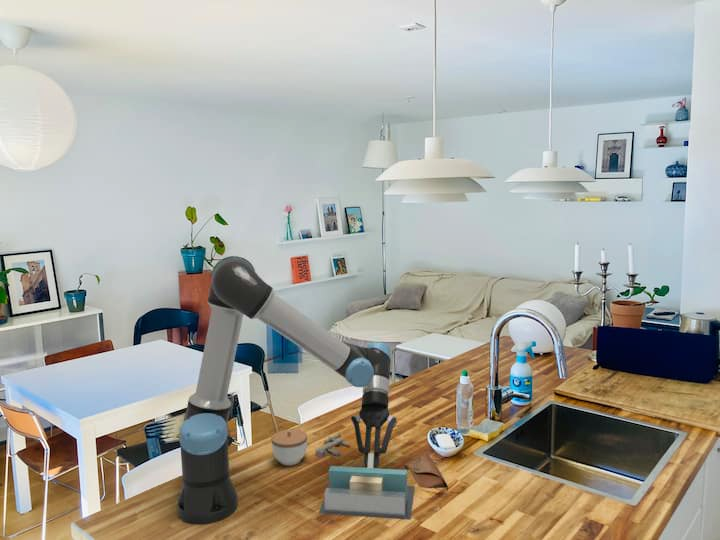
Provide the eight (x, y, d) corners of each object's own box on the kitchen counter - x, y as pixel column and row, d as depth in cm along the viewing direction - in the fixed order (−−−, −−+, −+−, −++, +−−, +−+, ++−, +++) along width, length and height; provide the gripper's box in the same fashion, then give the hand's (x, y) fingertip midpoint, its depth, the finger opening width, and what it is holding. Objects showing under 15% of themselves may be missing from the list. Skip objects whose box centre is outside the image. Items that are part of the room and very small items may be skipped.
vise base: (318, 517, 144) (317, 494, 144) (331, 485, 160) (330, 464, 159) (410, 524, 141) (410, 500, 140) (414, 490, 156) (414, 468, 156)
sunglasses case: (401, 463, 171) (412, 444, 171) (421, 473, 173) (432, 453, 173) (418, 495, 154) (430, 473, 154) (439, 505, 155) (452, 483, 155)
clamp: (329, 455, 174) (305, 446, 181) (329, 462, 175) (306, 453, 181) (361, 438, 186) (338, 430, 192) (361, 445, 186) (338, 436, 192)
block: (350, 507, 147) (349, 481, 146) (352, 501, 149) (351, 475, 148) (381, 509, 145) (381, 483, 144) (383, 503, 148) (382, 477, 147)
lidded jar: (314, 456, 178) (313, 427, 177) (296, 472, 168) (295, 441, 167) (284, 450, 182) (283, 422, 181) (265, 465, 173) (263, 435, 171)
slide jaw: (329, 499, 150) (328, 470, 149) (331, 494, 153) (330, 465, 152) (406, 504, 147) (406, 474, 146) (407, 499, 150) (406, 470, 149)
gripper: (399, 400, 167) (396, 484, 154) (355, 399, 169) (347, 482, 156) (397, 389, 161) (393, 476, 148) (351, 389, 163) (343, 474, 150)
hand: (370, 479), depth 152 cm, fingers closed
